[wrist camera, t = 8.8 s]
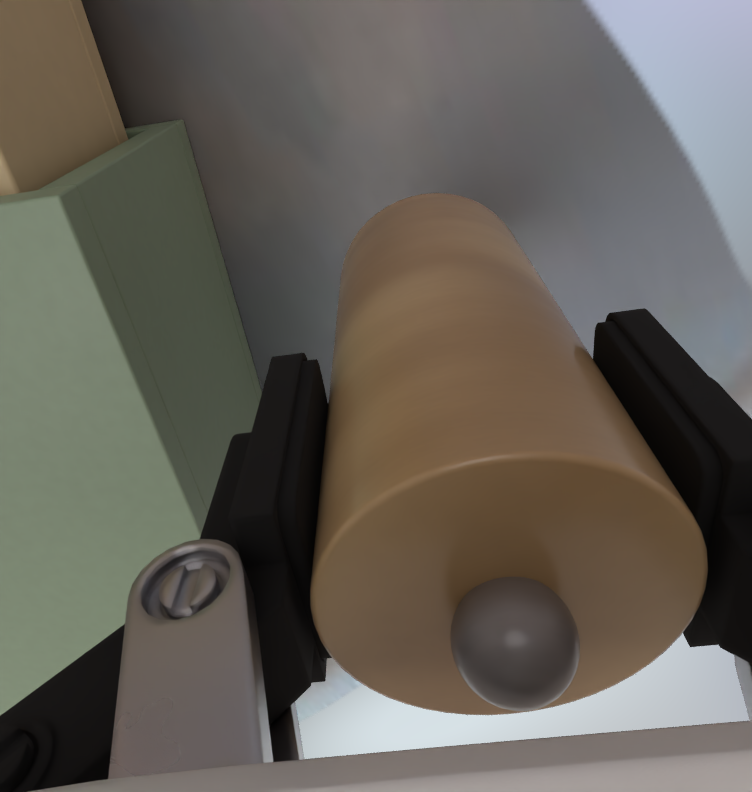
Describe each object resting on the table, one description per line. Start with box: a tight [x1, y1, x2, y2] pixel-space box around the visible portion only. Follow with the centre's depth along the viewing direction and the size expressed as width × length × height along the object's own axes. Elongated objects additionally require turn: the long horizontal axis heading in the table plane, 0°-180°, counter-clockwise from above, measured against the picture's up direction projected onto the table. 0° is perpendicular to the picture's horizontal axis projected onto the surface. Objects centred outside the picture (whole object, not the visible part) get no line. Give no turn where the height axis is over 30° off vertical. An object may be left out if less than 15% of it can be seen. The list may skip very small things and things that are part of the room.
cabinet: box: [0, 120, 262, 716], centre depth 19 cm, size 16×14×9 cm
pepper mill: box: [310, 193, 708, 715], centre depth 11 cm, size 5×5×11 cm
